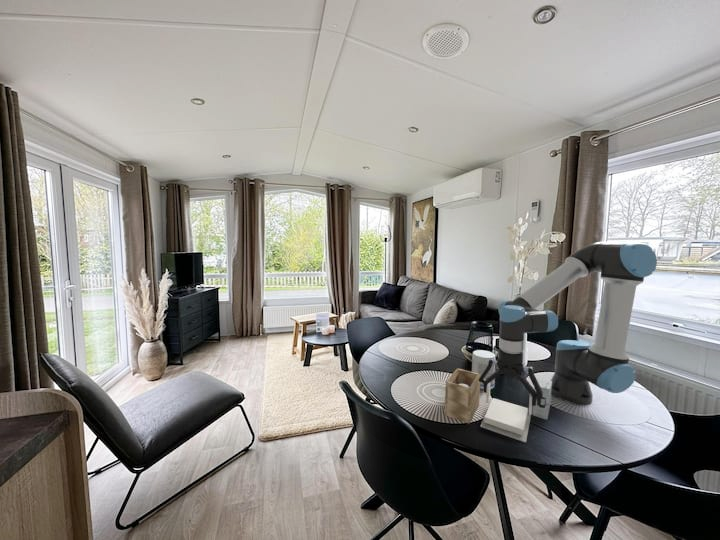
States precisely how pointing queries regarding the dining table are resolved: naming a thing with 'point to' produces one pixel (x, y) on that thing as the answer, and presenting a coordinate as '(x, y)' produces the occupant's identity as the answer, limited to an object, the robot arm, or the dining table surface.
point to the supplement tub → (483, 365)
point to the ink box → (543, 399)
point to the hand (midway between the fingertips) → (508, 407)
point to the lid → (506, 416)
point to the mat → (508, 433)
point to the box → (462, 395)
